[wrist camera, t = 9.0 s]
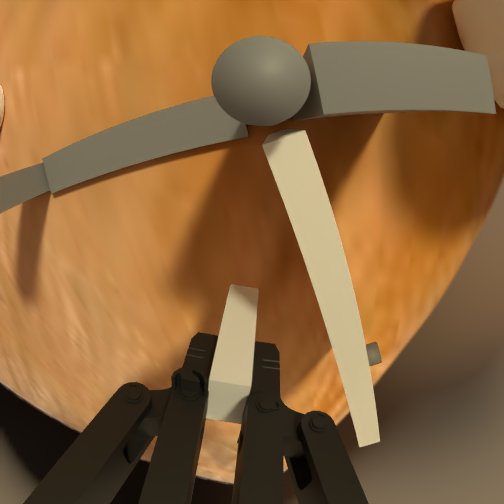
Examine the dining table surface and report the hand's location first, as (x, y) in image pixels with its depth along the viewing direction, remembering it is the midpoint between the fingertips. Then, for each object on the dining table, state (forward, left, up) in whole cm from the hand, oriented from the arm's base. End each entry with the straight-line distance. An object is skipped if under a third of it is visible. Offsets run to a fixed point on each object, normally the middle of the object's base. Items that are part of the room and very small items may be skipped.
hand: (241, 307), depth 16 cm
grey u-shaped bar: (-10, -3, -5) cm, 12 cm away
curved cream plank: (-1, +5, -5) cm, 7 cm away
